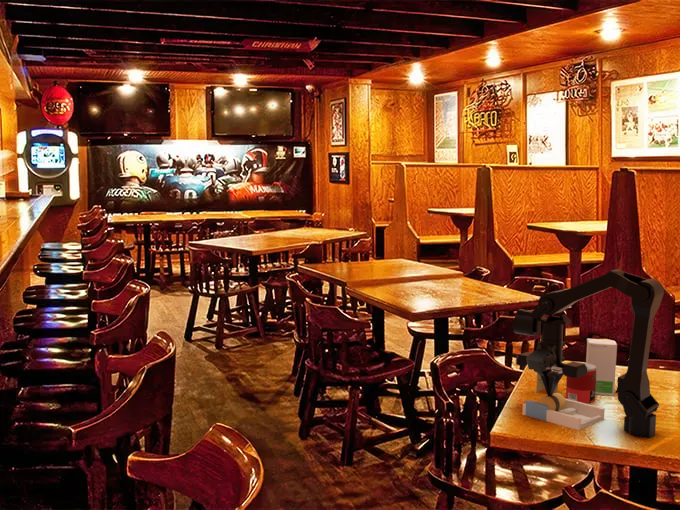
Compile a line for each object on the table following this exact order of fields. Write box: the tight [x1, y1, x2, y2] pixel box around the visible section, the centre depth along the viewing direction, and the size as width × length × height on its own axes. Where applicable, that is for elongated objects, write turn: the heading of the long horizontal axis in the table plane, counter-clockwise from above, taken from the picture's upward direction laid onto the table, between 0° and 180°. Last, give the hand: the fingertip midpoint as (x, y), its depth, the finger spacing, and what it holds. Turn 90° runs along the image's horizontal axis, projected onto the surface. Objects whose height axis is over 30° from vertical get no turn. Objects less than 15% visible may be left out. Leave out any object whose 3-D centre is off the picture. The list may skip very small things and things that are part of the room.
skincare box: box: [585, 337, 618, 397], centre depth 229 cm, size 8×7×16 cm
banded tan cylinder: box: [534, 392, 566, 412], centre depth 207 cm, size 8×5×5 cm, turn 132°
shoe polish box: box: [536, 365, 559, 395], centre depth 227 cm, size 5×5×12 cm
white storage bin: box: [522, 397, 605, 431], centre depth 204 cm, size 17×12×5 cm
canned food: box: [565, 361, 596, 405], centre depth 219 cm, size 8×8×11 cm
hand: (549, 395), depth 207 cm, fingers closed, pressing on banded tan cylinder
